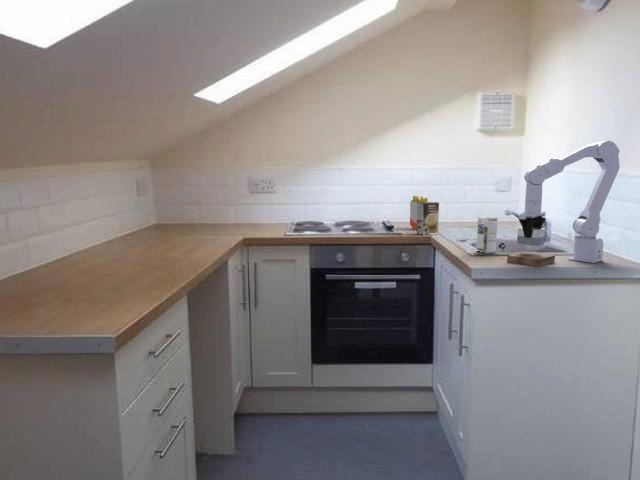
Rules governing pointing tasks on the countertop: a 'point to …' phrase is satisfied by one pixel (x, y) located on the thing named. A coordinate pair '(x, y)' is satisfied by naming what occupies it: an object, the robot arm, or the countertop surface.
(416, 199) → the french fries container
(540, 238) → the block
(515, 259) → the stand
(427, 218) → the coffee box
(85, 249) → the countertop surface
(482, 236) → the syrup box
